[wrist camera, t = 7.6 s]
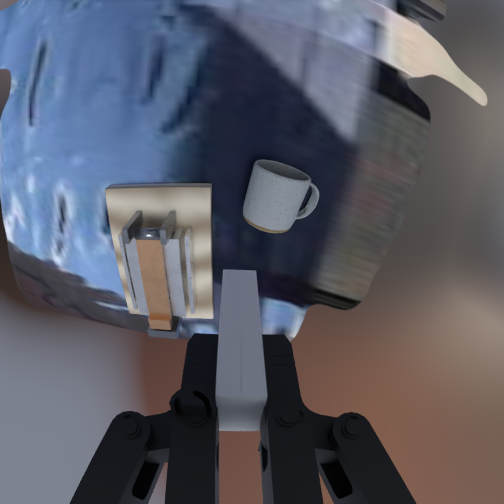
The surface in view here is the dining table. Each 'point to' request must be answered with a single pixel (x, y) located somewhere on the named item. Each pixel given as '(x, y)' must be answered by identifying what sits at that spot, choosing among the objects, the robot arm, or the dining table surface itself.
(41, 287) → the dining table surface
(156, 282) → the strap
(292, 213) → the ceramic mug
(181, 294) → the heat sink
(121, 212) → the board
